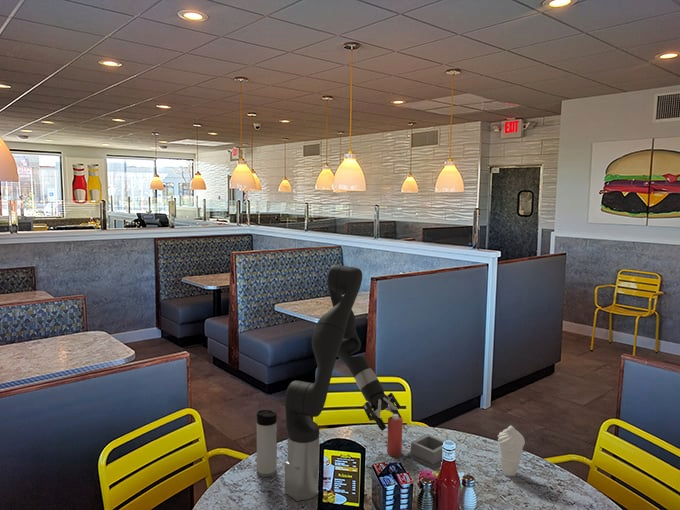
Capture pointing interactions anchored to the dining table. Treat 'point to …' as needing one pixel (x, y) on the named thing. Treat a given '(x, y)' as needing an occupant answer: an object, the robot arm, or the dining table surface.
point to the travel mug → (266, 443)
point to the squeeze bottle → (394, 435)
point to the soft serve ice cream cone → (510, 450)
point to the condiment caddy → (427, 451)
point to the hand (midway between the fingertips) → (392, 425)
